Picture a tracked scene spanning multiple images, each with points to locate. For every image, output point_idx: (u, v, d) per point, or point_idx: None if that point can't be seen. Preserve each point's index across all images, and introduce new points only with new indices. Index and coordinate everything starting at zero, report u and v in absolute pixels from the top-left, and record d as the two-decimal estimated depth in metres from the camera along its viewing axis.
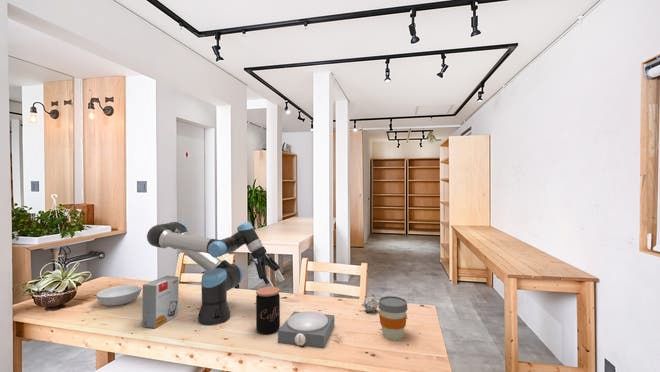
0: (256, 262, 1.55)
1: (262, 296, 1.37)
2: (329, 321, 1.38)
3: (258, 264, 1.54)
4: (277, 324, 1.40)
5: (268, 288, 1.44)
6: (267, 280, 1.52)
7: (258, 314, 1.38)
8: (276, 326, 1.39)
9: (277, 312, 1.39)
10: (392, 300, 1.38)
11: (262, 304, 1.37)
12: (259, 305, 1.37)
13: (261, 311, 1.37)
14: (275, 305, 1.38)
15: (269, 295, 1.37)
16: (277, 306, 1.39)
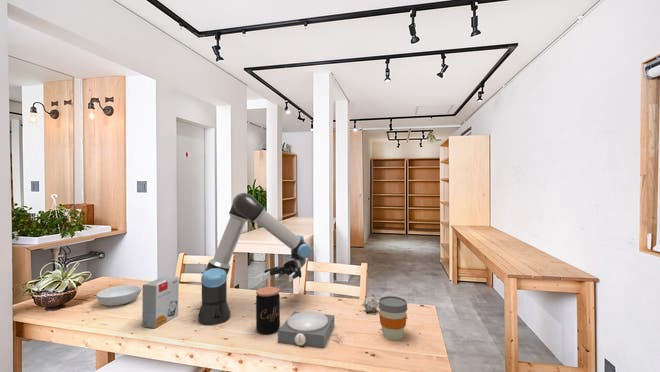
0: None
1: (262, 296, 1.37)
2: (329, 321, 1.38)
3: None
4: (277, 324, 1.40)
5: (268, 288, 1.44)
6: (294, 277, 1.54)
7: (258, 314, 1.38)
8: (276, 326, 1.39)
9: (277, 312, 1.39)
10: (392, 300, 1.38)
11: (262, 304, 1.37)
12: (259, 305, 1.37)
13: (261, 311, 1.37)
14: (275, 305, 1.38)
15: (269, 295, 1.37)
16: (277, 306, 1.39)
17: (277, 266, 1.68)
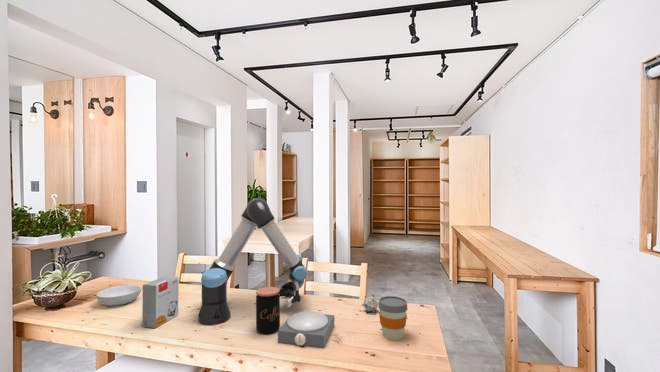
0: None
1: (262, 296, 1.37)
2: (329, 321, 1.38)
3: None
4: (277, 324, 1.40)
5: (268, 288, 1.44)
6: None
7: (258, 314, 1.38)
8: (276, 326, 1.39)
9: (277, 312, 1.39)
10: (392, 300, 1.38)
11: (262, 304, 1.37)
12: (259, 305, 1.37)
13: (261, 311, 1.37)
14: (275, 305, 1.38)
15: (269, 295, 1.37)
16: (277, 306, 1.39)
17: None
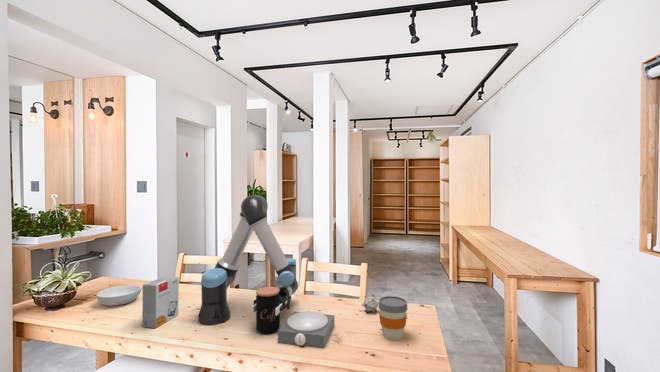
0: (290, 299, 1.51)
1: (262, 296, 1.37)
2: (329, 321, 1.38)
3: (289, 301, 1.50)
4: (277, 324, 1.40)
5: (268, 288, 1.44)
6: None
7: (258, 314, 1.38)
8: (276, 326, 1.39)
9: None
10: (392, 300, 1.38)
11: (262, 304, 1.37)
12: (259, 305, 1.37)
13: (261, 311, 1.37)
14: (275, 305, 1.38)
15: (269, 295, 1.37)
16: (277, 306, 1.39)
17: None
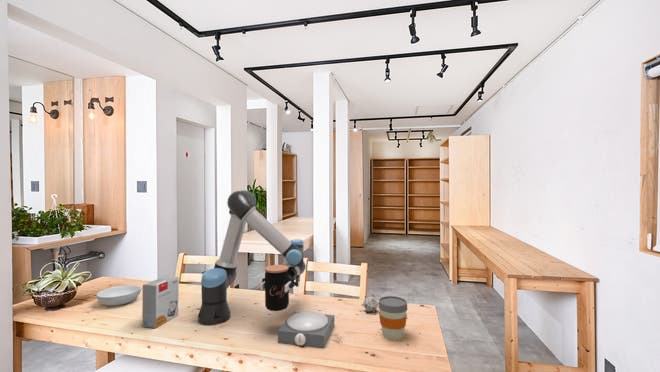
0: (299, 278, 1.51)
1: (271, 273, 1.36)
2: (329, 321, 1.38)
3: (298, 280, 1.49)
4: (287, 301, 1.39)
5: (277, 266, 1.43)
6: None
7: (267, 291, 1.37)
8: (285, 303, 1.38)
9: None
10: (392, 300, 1.38)
11: (271, 281, 1.36)
12: (269, 282, 1.36)
13: (270, 288, 1.36)
14: (284, 282, 1.38)
15: (278, 272, 1.36)
16: (286, 283, 1.39)
17: None
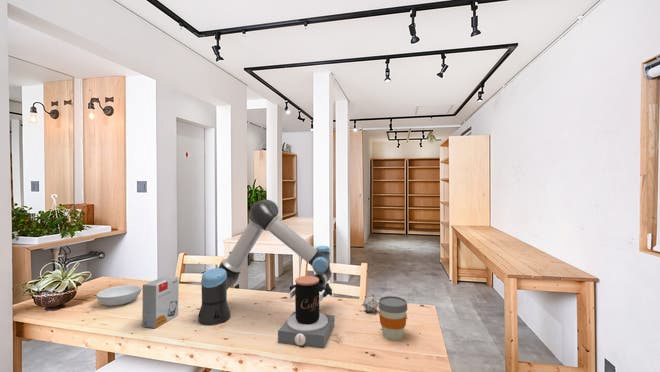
0: None
1: (303, 285, 1.32)
2: (329, 321, 1.38)
3: None
4: (318, 314, 1.35)
5: (307, 277, 1.40)
6: None
7: (298, 304, 1.33)
8: (317, 316, 1.34)
9: (317, 302, 1.35)
10: (392, 300, 1.38)
11: (302, 294, 1.32)
12: (300, 295, 1.33)
13: (301, 301, 1.32)
14: (316, 294, 1.34)
15: (310, 284, 1.32)
16: (317, 295, 1.35)
17: None
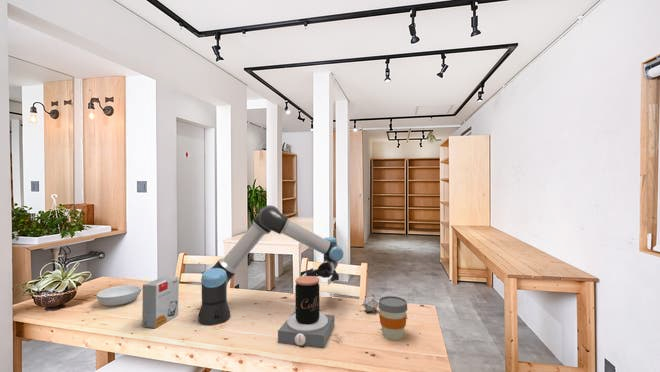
0: (335, 272, 1.63)
1: (303, 285, 1.32)
2: (329, 321, 1.38)
3: None
4: (318, 314, 1.35)
5: (307, 277, 1.40)
6: (332, 280, 1.52)
7: (298, 304, 1.33)
8: (317, 316, 1.34)
9: (317, 302, 1.35)
10: (392, 300, 1.38)
11: (302, 294, 1.32)
12: (300, 295, 1.33)
13: (302, 300, 1.32)
14: (316, 294, 1.34)
15: (310, 284, 1.32)
16: (317, 295, 1.35)
17: (312, 268, 1.66)
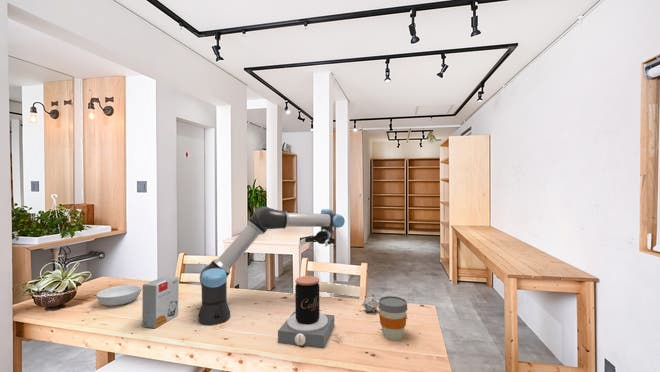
0: None
1: (303, 285, 1.33)
2: (329, 321, 1.38)
3: None
4: (318, 314, 1.35)
5: (307, 277, 1.40)
6: (329, 243, 1.67)
7: (298, 304, 1.33)
8: (317, 316, 1.35)
9: (317, 302, 1.35)
10: (392, 300, 1.38)
11: (302, 293, 1.32)
12: (300, 295, 1.33)
13: (302, 300, 1.32)
14: (316, 294, 1.34)
15: (310, 284, 1.32)
16: (317, 295, 1.35)
17: None
